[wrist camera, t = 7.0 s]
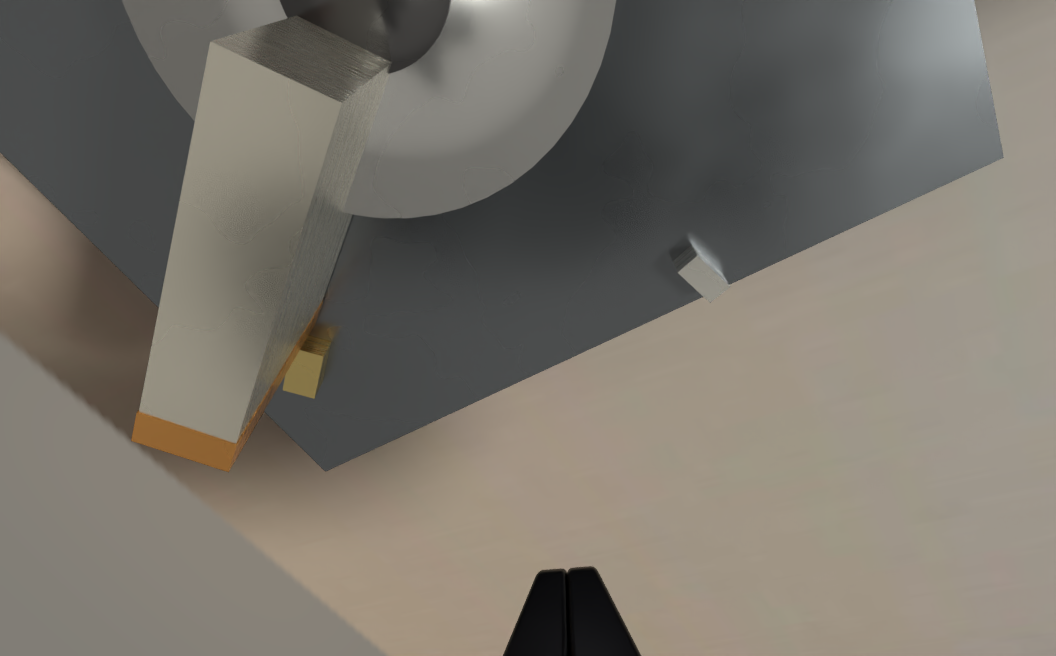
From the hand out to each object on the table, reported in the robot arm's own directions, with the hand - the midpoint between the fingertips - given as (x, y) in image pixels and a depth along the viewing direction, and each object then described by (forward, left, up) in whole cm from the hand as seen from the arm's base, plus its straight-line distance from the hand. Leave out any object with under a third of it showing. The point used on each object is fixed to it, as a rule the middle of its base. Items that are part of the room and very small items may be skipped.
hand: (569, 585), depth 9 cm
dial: (-6, -4, -6) cm, 9 cm away
